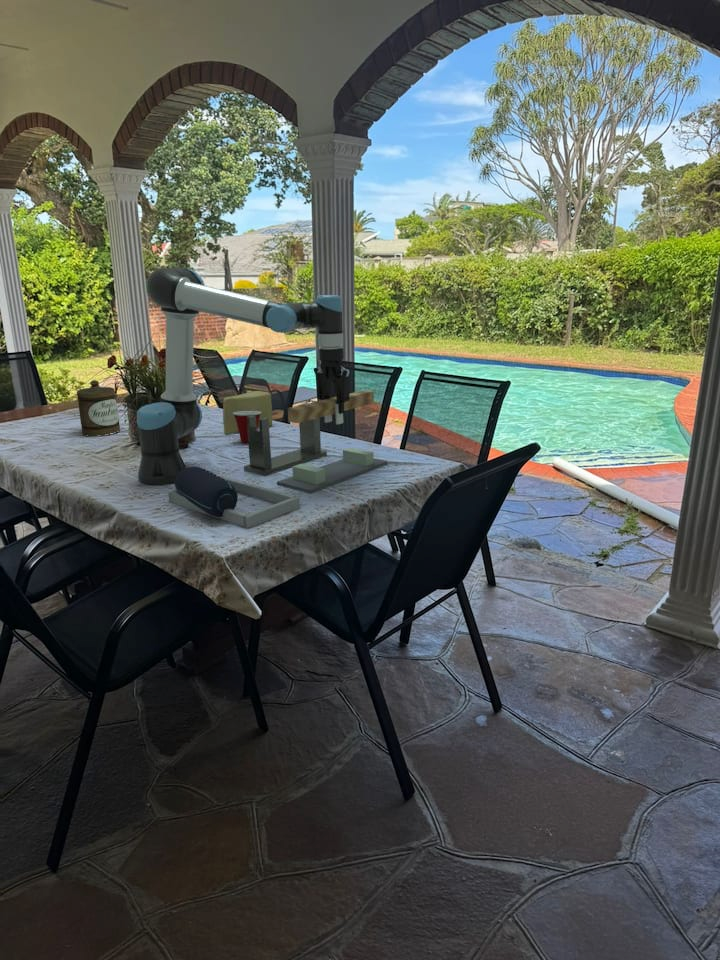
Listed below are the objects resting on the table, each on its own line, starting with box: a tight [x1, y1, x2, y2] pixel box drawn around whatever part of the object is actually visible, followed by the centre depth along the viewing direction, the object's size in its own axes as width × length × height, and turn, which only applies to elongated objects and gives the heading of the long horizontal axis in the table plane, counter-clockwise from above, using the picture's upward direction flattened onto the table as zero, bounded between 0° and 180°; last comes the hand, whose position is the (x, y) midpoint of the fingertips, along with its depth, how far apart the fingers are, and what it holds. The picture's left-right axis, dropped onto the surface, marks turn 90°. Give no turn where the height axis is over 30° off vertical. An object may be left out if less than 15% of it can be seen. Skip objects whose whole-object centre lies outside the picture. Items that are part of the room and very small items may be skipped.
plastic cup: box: [233, 411, 261, 444], centre depth 248 cm, size 11×11×12 cm
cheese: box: [222, 390, 273, 435], centre depth 268 cm, size 22×10×15 cm, turn 139°
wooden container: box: [76, 379, 121, 437], centre depth 265 cm, size 15×15×22 cm
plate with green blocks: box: [276, 447, 388, 494], centre depth 207 cm, size 38×14×5 cm, turn 141°
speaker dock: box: [167, 475, 301, 529], centre depth 181 cm, size 19×34×3 cm, turn 51°
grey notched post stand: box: [243, 403, 328, 477], centre depth 218 cm, size 30×10×18 cm, turn 141°
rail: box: [287, 389, 375, 424], centre depth 201 cm, size 36×4×4 cm, turn 141°
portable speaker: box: [174, 466, 239, 518], centre depth 178 cm, size 25×10×10 cm, turn 38°
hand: (334, 422), depth 202 cm, fingers closed on rail, 4 cm apart
